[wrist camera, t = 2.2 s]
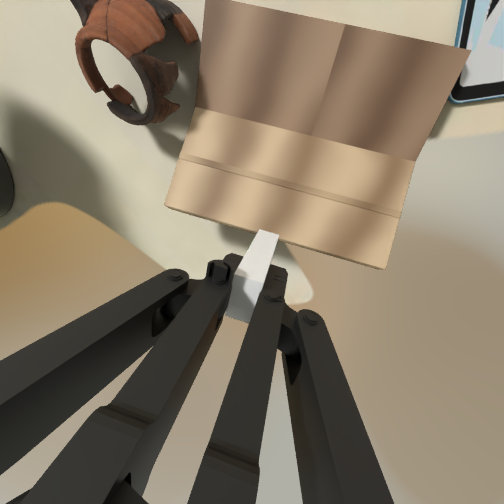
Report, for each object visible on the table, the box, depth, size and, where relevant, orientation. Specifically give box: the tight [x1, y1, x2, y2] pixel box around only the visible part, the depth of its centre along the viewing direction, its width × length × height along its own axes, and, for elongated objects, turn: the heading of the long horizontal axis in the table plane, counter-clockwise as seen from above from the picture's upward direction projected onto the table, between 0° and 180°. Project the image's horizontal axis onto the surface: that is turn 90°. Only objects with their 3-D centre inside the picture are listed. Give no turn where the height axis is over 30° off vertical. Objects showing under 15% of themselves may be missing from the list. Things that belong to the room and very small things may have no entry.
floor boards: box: [195, 0, 472, 162], centre depth 21 cm, size 21×8×2 cm, turn 77°
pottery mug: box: [70, 0, 198, 125], centre depth 22 cm, size 12×10×8 cm
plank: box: [164, 107, 415, 269], centre depth 23 cm, size 21×10×2 cm, turn 77°
